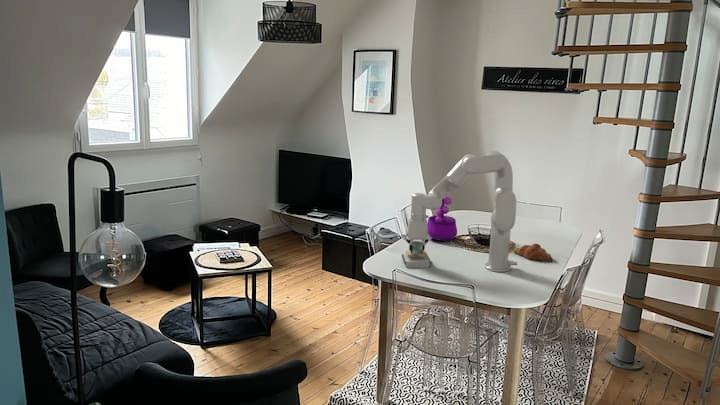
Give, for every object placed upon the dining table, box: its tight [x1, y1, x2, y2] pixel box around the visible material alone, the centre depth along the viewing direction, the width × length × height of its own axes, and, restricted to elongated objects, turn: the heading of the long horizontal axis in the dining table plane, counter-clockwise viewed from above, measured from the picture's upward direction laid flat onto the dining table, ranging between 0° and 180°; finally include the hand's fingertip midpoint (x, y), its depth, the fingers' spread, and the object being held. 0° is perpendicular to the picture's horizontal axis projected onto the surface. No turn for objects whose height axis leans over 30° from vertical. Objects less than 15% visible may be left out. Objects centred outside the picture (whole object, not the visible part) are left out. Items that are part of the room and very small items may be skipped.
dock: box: [401, 253, 432, 268], centre depth 272 cm, size 14×12×3 cm
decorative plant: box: [427, 196, 458, 242], centre depth 311 cm, size 19×18×30 cm
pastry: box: [513, 243, 554, 263], centre depth 284 cm, size 17×15×8 cm
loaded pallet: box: [405, 240, 428, 257], centre depth 270 cm, size 10×6×7 cm, turn 92°
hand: (416, 251), depth 270 cm, fingers closed on loaded pallet, 4 cm apart
